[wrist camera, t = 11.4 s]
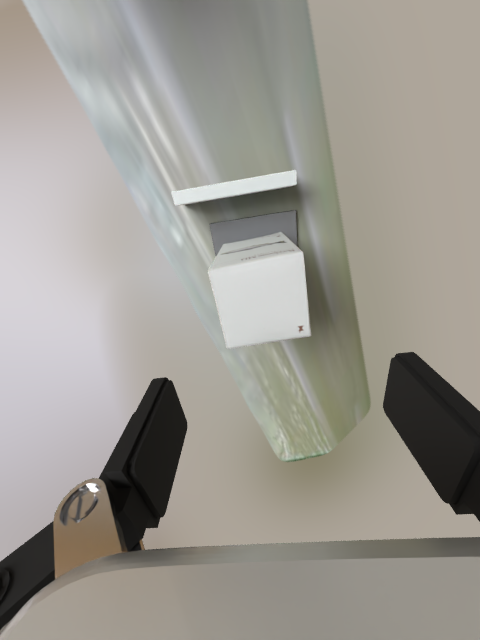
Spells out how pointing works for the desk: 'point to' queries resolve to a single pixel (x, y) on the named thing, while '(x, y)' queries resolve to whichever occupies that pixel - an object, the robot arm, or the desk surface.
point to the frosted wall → (235, 188)
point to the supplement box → (260, 291)
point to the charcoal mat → (254, 228)
